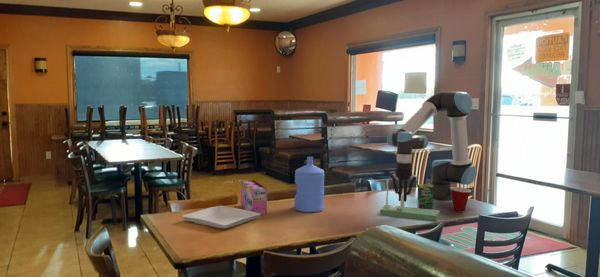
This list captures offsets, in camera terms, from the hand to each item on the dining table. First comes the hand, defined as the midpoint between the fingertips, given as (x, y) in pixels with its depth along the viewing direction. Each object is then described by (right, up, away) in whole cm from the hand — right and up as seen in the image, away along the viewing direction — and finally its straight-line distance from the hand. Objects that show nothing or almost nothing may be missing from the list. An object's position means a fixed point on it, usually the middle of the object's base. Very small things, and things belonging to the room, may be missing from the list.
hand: (402, 207), depth 243 cm
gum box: (-77, -2, +5) cm, 77 cm away
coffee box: (+16, -3, +15) cm, 22 cm away
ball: (-4, -2, +2) cm, 5 cm away
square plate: (-90, -4, -18) cm, 92 cm away
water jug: (-48, -2, +8) cm, 49 cm away
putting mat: (+4, -4, 0) cm, 5 cm away
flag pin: (-7, 0, +8) cm, 10 cm away
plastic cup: (+33, -4, +11) cm, 35 cm away
